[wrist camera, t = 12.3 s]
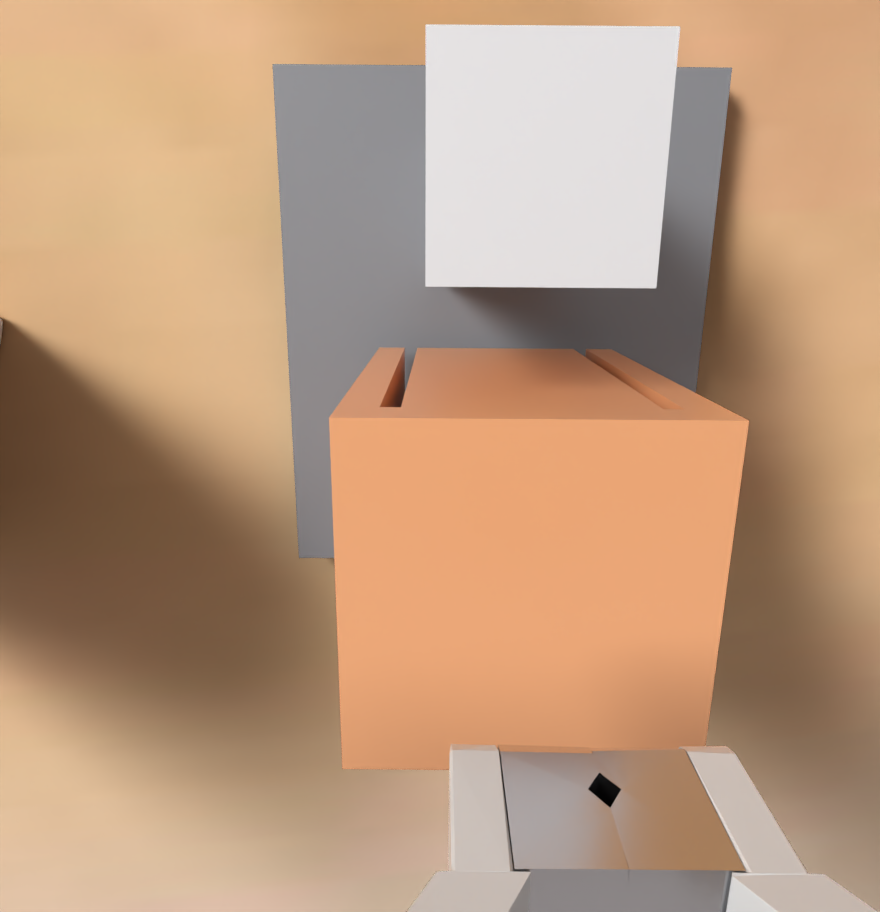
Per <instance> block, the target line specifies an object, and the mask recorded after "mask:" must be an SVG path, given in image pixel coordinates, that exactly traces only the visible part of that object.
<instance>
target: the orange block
mask: <svg viewBox="0 0 880 912" xmlns="http://www.w3.org/2000/svg"><path fill="white" fill-rule="evenodd" d="M748 425H749V420H747V419H745V418H743V417H741V416H739V415H737V414H735V413H733V412H731V411H729V410H727V409H726V408H724V407H722V406H720V405H718V404H716V403H714V402H712V401H710V400H708V399H706V398H704V397H702V396H700V395H698V394H697V393H695V392H693V391H691V390H689V389H687V388H685V387H683V386H681V385H679V384H677V383H675V382H673V381H671V380H670V379H668V378H666V377H664V376H662V375H660V374H658V373H656V372H654V371H652V370H650V369H648V368H646V367H644V366H643V365H641V364H639V363H637V362H635V361H633V360H631V359H629V358H627V357H625V356H623V355H621V354H619V353H617V352H616V351H614V350H612V349H586V354H585V357H584V356H583V355H581V354H580V353H578V352H577V351H575V350H574V349H514V348H417V351H416V355H415V358H414V362H413V366H412V369H411V373H410V376H409V380H408V384H407V387H406V391H405V348H382V347H379V349H378V350H377V351H376V353H375V354H374V356H373V357H372V358H371V360H370V361H369V363H368V364H367V365H366V367H365V368H364V370H363V371H362V372H361V374H360V375H359V377H358V378H357V379H356V381H355V382H354V383H353V385H352V386H351V388H350V389H349V390H348V392H347V393H346V395H345V396H344V397H343V399H342V400H341V402H340V403H339V404H338V406H337V407H336V409H335V410H334V411H333V413H332V414H331V415H330V417H329V430H330V457H331V483H332V509H333V536H334V562H335V588H336V614H337V641H338V667H339V693H340V720H341V746H342V769H417V770H449V754H450V746H451V744H472V745H495V746H496V747H498V745H527V746H559V747H589V748H679V747H689V746H705V745H706V738H707V730H708V723H709V716H710V708H711V701H712V693H713V686H714V678H715V671H716V663H717V656H718V649H719V641H720V634H721V626H722V619H723V611H724V604H725V596H726V589H727V582H728V574H729V567H730V559H731V552H732V544H733V537H734V530H735V522H736V515H737V507H738V500H739V492H740V485H741V477H742V470H743V463H744V455H745V448H746V440H747V433H748Z"/></svg>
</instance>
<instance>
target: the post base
mask: <svg viewBox="0 0 880 912" xmlns="http://www.w3.org/2000/svg"><path fill="white" fill-rule="evenodd" d="M679 35H680V27H676V26H546V25H426V65H311V64H273V80H274V99H275V117H276V136H277V155H278V174H279V192H280V211H281V230H282V248H283V267H284V286H285V305H286V323H287V342H288V361H289V380H290V398H291V417H292V436H293V455H294V473H295V492H296V511H297V529H298V548H299V558H334V536H333V509H332V483H331V457H330V430H329V417H330V415H331V414H332V413H333V411H334V410H335V409H336V407H337V406H338V404H339V403H340V402H341V400H342V399H343V397H344V396H345V395H346V393H347V392H348V390H349V389H350V388H351V386H352V385H353V383H354V382H355V381H356V379H357V378H358V377H359V375H360V374H361V372H362V371H363V370H364V368H365V367H366V365H367V364H368V363H369V361H370V360H371V358H372V357H373V356H374V354H375V353H376V351H377V350H378V349H379V347H382V348H405V391H406V387H407V384H408V380H409V376H410V373H411V369H412V366H413V362H414V358H415V355H416V351H417V348H514V349H574V350H575V351H577V352H578V353H580V354H581V355H583V356H584V357H585V354H586V349H612V350H614V351H616V352H617V353H619V354H621V355H623V356H625V357H627V358H629V359H631V360H633V361H635V362H637V363H639V364H641V365H643V366H644V367H646V368H648V369H650V370H652V371H654V372H656V373H658V374H660V375H662V376H664V377H666V378H668V379H670V380H671V381H673V382H675V383H677V384H679V385H681V386H683V387H685V388H687V389H689V390H691V391H693V392H695V393H696V386H697V377H698V368H699V359H700V350H701V341H702V333H703V324H704V315H705V306H706V297H707V288H708V279H709V270H710V261H711V252H712V243H713V234H714V225H715V216H716V207H717V198H718V189H719V180H720V171H721V162H722V153H723V144H724V135H725V126H726V117H727V108H728V99H729V90H730V81H731V72H732V68H702V67H677V56H678V46H679Z"/></svg>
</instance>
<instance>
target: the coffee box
mask: <svg viewBox="0 0 880 912" xmlns="http://www.w3.org/2000/svg"><path fill="white" fill-rule="evenodd" d="M2 328H3V321H2V319H1V318H0V345H1V336H2Z"/></svg>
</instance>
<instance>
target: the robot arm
mask: <svg viewBox="0 0 880 912" xmlns="http://www.w3.org/2000/svg"><path fill="white" fill-rule="evenodd" d="M406 912H878V911H876V910H875V909H873V908H872V907H871V906H869V905H868V904H866V903H865V902H864V901H862V900H861V899H859V898H858V897H856V896H855V895H854V894H852V893H851V892H849V891H848V890H846V889H845V888H844V887H842V886H841V885H839V884H838V883H837V882H835V881H834V880H832V879H831V878H829V877H828V876H827V875H825V874H809V873H808V872H807V870H806V868H805V867H804V865H803V864H802V862H801V860H800V859H799V857H798V855H797V854H796V852H795V850H794V849H793V847H792V846H791V844H790V842H789V841H788V839H787V837H786V836H785V834H784V832H783V831H782V829H781V827H780V826H779V824H778V823H777V821H776V819H775V818H774V816H773V814H772V813H771V811H770V809H769V808H768V806H767V805H766V803H765V801H764V800H763V798H762V796H761V795H760V793H759V791H758V790H757V788H756V787H755V785H754V783H753V782H752V780H751V778H750V777H749V775H748V773H747V772H746V770H745V769H744V767H743V765H742V764H741V762H740V760H739V759H738V757H737V755H736V754H735V752H734V751H732V750H731V749H730V748H728V747H727V746H689V747H679V748H589V747H559V746H527V745H498V747H496V746H495V745H472V744H451V746H450V754H449V823H448V871H436V872H435V873H434V875H433V876H432V877H431V879H430V880H429V881H428V883H427V884H426V885H425V887H424V888H423V890H422V891H421V892H420V894H419V895H418V896H417V898H416V899H415V900H414V902H413V903H412V904H411V906H410V907H409V908H408V910H407V911H406Z"/></svg>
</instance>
